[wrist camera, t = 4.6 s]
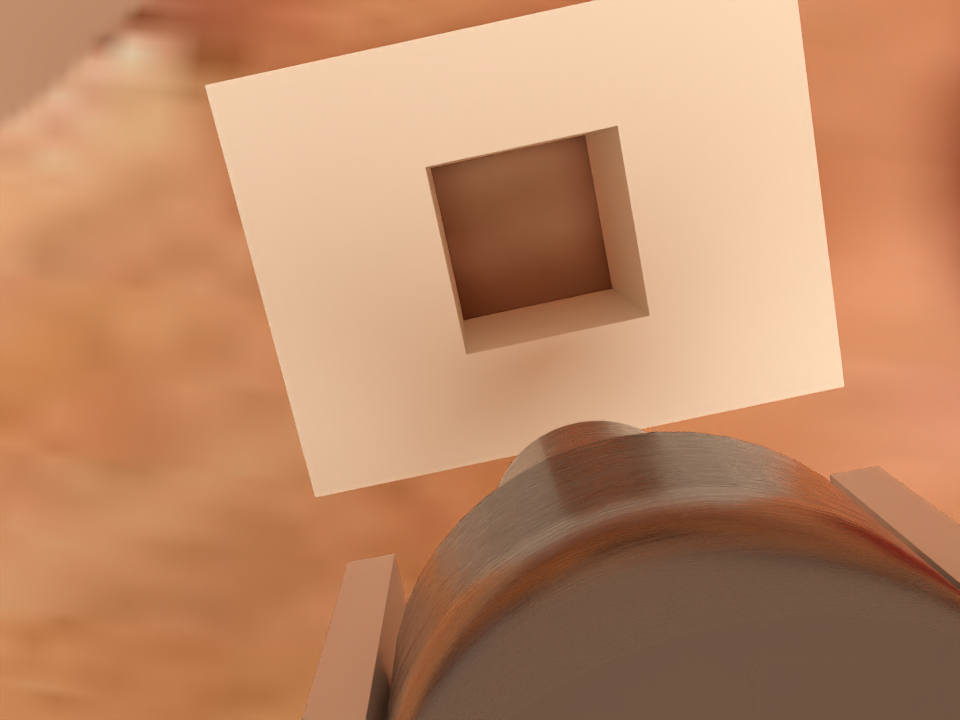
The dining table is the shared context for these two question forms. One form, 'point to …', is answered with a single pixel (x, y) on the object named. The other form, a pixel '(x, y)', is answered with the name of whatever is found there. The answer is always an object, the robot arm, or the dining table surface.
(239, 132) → the block
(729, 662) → the pin
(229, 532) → the dining table surface
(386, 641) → the robot arm
